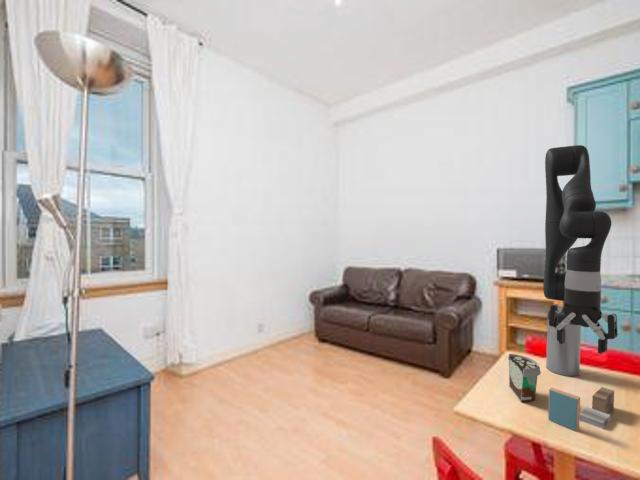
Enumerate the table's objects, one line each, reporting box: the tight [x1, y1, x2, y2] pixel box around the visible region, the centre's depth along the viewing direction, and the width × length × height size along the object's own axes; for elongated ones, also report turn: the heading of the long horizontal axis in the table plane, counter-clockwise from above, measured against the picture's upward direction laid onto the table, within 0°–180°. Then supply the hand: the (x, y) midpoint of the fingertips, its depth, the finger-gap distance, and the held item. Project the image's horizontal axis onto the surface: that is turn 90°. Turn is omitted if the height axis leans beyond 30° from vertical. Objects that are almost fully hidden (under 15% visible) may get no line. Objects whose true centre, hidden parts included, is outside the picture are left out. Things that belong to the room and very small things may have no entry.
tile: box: [547, 387, 581, 432], centre depth 83 cm, size 2×6×8 cm, turn 36°
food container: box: [507, 353, 542, 404], centre depth 98 cm, size 12×6×10 cm, turn 168°
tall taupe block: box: [579, 386, 615, 430], centre depth 88 cm, size 14×5×5 cm, turn 126°
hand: (580, 348), depth 89 cm, fingers open, 8 cm apart
